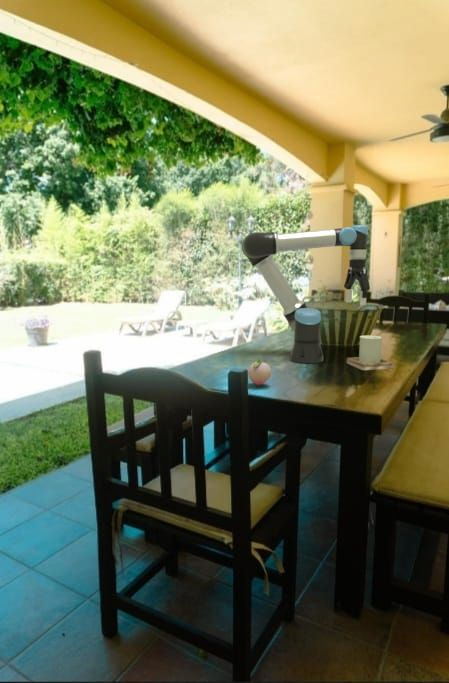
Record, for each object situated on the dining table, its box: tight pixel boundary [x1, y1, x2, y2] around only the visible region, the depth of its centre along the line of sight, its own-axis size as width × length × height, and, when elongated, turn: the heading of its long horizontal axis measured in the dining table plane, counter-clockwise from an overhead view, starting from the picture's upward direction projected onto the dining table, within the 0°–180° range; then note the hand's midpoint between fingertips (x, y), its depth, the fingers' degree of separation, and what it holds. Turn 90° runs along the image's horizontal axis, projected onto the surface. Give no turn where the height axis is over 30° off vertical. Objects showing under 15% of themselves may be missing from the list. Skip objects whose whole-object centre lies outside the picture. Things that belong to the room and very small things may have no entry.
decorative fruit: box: [247, 358, 272, 387], centre depth 165 cm, size 9×8×10 cm
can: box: [358, 334, 383, 364], centre depth 196 cm, size 9×9×12 cm
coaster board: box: [346, 356, 394, 371], centre depth 197 cm, size 14×14×2 cm
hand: (355, 303), depth 219 cm, fingers open, 13 cm apart
